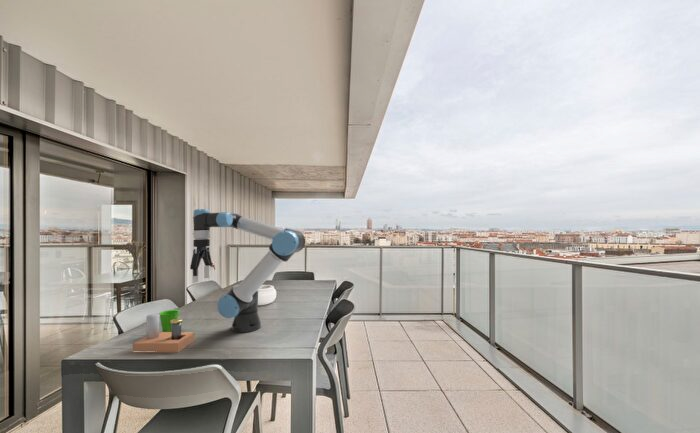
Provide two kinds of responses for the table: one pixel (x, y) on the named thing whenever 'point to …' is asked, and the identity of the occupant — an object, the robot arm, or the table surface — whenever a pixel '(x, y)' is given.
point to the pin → (176, 329)
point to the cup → (168, 319)
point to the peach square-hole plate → (161, 338)
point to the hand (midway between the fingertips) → (201, 280)
